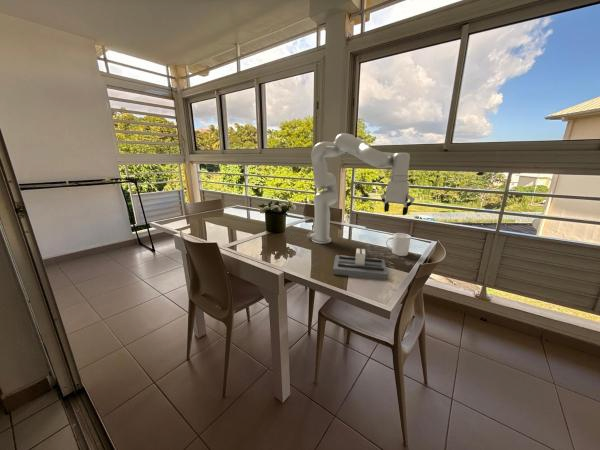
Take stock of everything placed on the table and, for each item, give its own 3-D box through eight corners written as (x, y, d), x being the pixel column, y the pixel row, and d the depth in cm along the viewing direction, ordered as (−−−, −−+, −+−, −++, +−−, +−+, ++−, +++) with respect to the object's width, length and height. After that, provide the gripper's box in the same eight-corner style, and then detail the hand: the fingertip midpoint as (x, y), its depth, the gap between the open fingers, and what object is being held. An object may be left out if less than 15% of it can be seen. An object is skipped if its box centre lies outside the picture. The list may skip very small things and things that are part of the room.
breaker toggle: (355, 265, 112) (356, 252, 110) (355, 259, 118) (356, 248, 116) (364, 265, 111) (365, 253, 110) (363, 260, 117) (364, 248, 115)
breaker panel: (332, 274, 110) (333, 266, 109) (335, 259, 125) (335, 252, 124) (387, 280, 106) (388, 271, 104) (383, 264, 121) (384, 257, 119)
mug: (386, 248, 142) (388, 231, 139) (408, 252, 137) (410, 234, 134) (384, 253, 134) (386, 235, 131) (407, 257, 129) (410, 238, 126)
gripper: (378, 178, 121) (376, 211, 126) (413, 180, 108) (408, 217, 113) (386, 177, 126) (383, 209, 130) (420, 179, 113) (415, 214, 118)
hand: (395, 213), depth 122 cm, fingers open, 9 cm apart
